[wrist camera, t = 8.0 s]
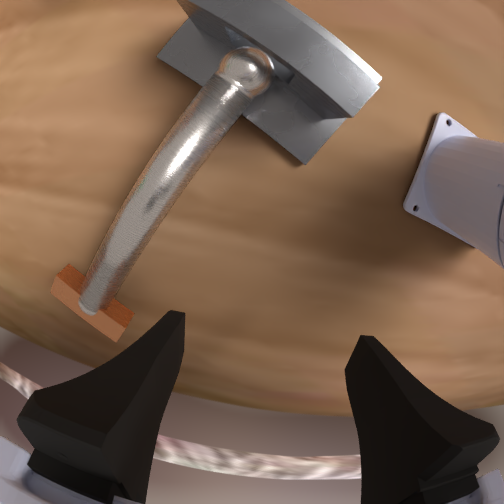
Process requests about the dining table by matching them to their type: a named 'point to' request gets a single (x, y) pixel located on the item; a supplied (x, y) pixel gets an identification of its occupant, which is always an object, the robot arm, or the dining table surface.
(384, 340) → the dining table surface
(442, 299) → the dining table surface
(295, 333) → the dining table surface
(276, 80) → the grey hammer
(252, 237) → the dining table surface
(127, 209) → the metal rod with plate
